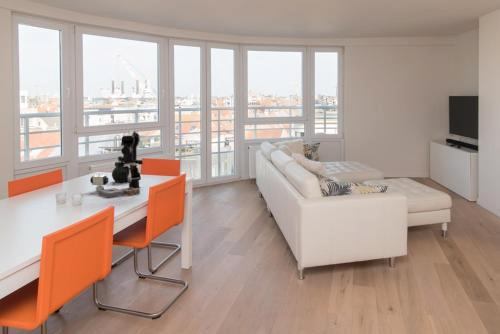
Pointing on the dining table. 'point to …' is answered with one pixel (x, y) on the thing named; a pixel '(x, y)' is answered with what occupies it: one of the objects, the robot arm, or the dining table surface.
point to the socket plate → (111, 192)
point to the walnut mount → (131, 191)
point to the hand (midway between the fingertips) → (129, 175)
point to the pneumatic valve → (99, 181)
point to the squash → (119, 174)
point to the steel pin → (129, 176)
